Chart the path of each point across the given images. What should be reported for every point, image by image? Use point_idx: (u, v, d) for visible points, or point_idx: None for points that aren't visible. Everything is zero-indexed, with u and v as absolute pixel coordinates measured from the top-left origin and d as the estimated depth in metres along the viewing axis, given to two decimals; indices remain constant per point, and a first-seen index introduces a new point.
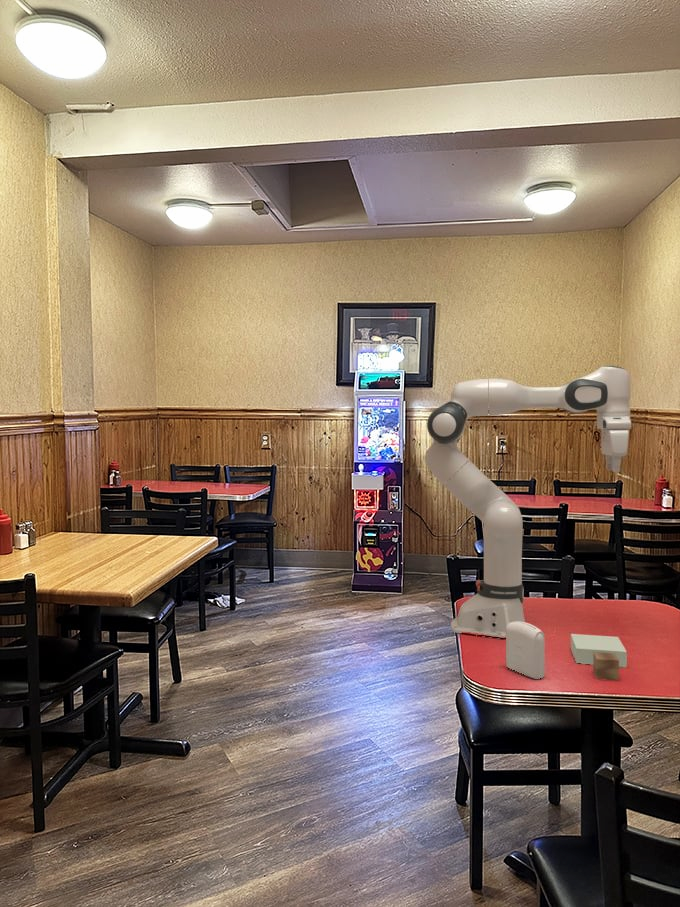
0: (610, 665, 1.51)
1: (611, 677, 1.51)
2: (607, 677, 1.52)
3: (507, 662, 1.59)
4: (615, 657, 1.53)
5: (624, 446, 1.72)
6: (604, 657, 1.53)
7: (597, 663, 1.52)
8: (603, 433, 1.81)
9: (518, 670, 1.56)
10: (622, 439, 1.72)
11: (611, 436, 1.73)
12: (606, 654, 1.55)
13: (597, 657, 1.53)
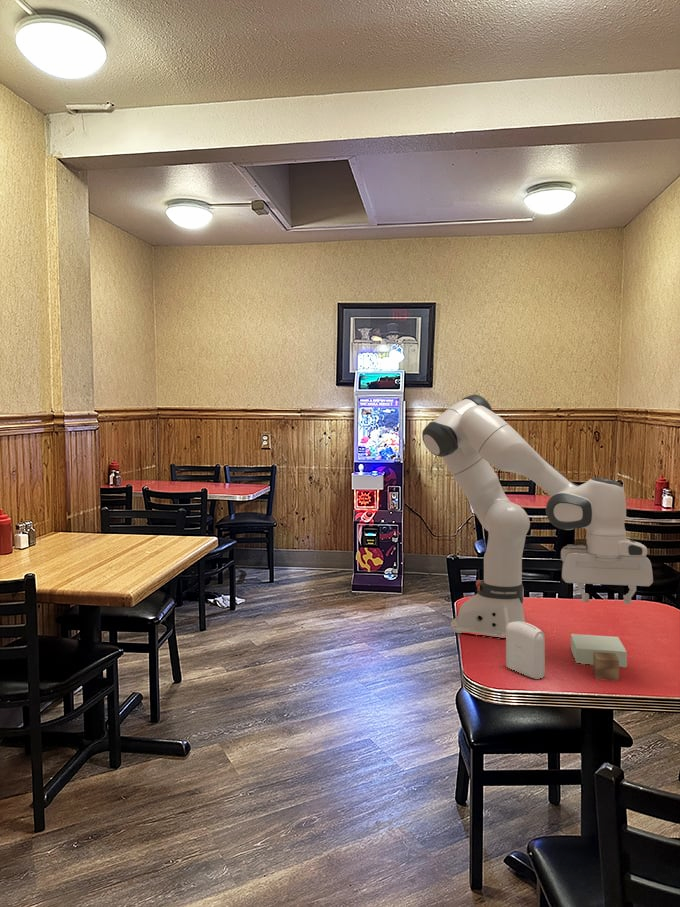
0: (610, 665, 1.51)
1: (611, 677, 1.51)
2: (607, 677, 1.52)
3: (507, 662, 1.59)
4: (615, 657, 1.53)
5: None
6: (604, 657, 1.53)
7: (597, 663, 1.52)
8: (613, 560, 1.50)
9: (518, 670, 1.56)
10: None
11: (650, 564, 1.49)
12: (606, 654, 1.55)
13: (597, 657, 1.53)
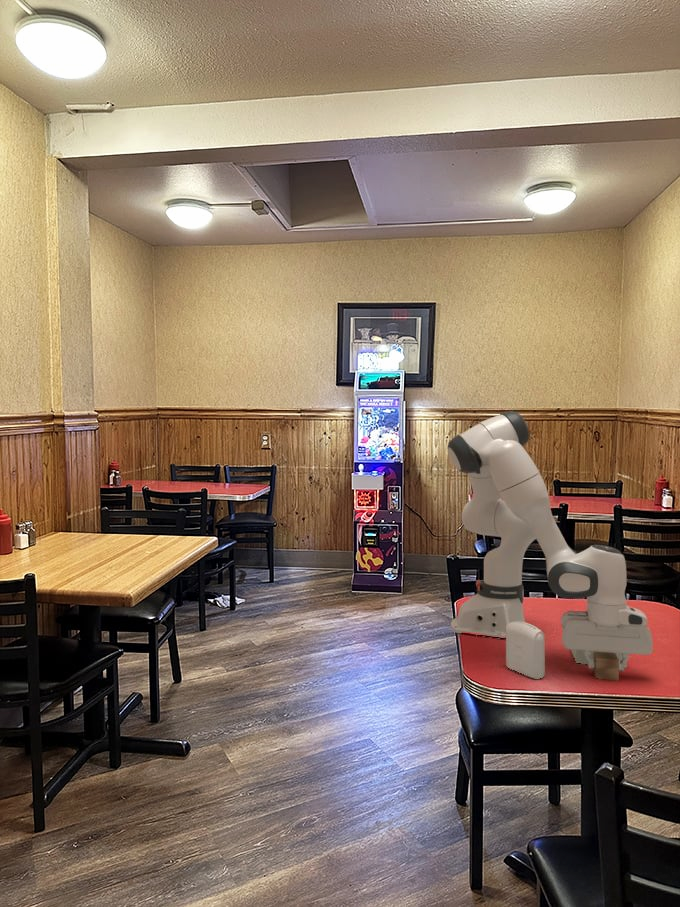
0: (610, 665, 1.51)
1: (611, 677, 1.51)
2: (607, 677, 1.52)
3: (507, 662, 1.59)
4: (615, 657, 1.53)
5: None
6: (604, 657, 1.53)
7: (597, 663, 1.52)
8: (613, 628, 1.51)
9: (518, 670, 1.56)
10: None
11: (650, 633, 1.49)
12: (606, 654, 1.55)
13: (597, 657, 1.53)
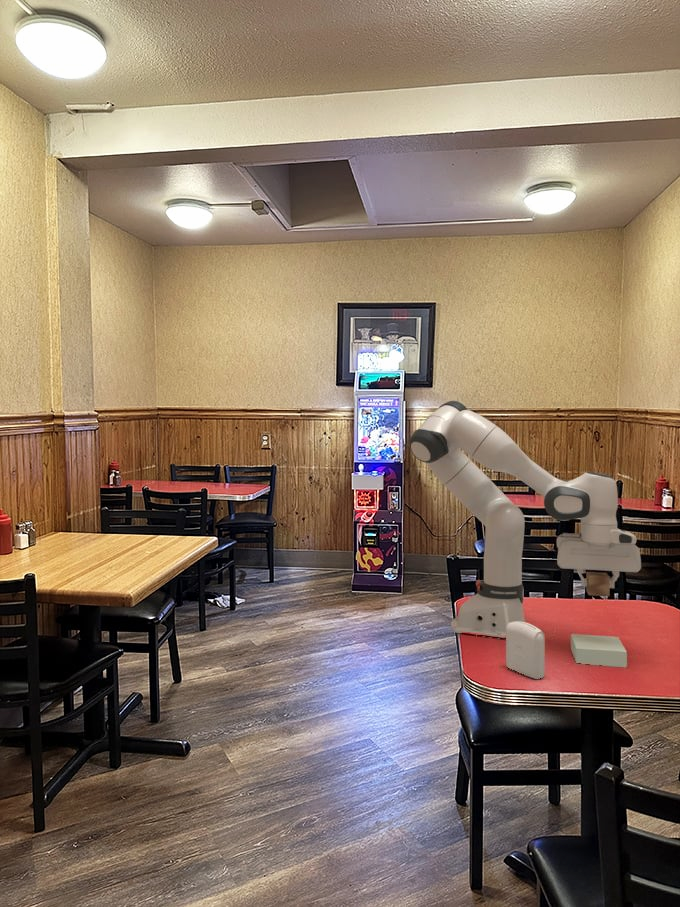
0: (602, 581, 1.63)
1: (602, 592, 1.63)
2: (598, 593, 1.63)
3: (507, 662, 1.59)
4: (606, 575, 1.65)
5: None
6: (596, 575, 1.65)
7: (589, 580, 1.64)
8: (605, 547, 1.62)
9: (518, 670, 1.56)
10: None
11: (639, 551, 1.61)
12: (598, 573, 1.67)
13: (589, 575, 1.65)
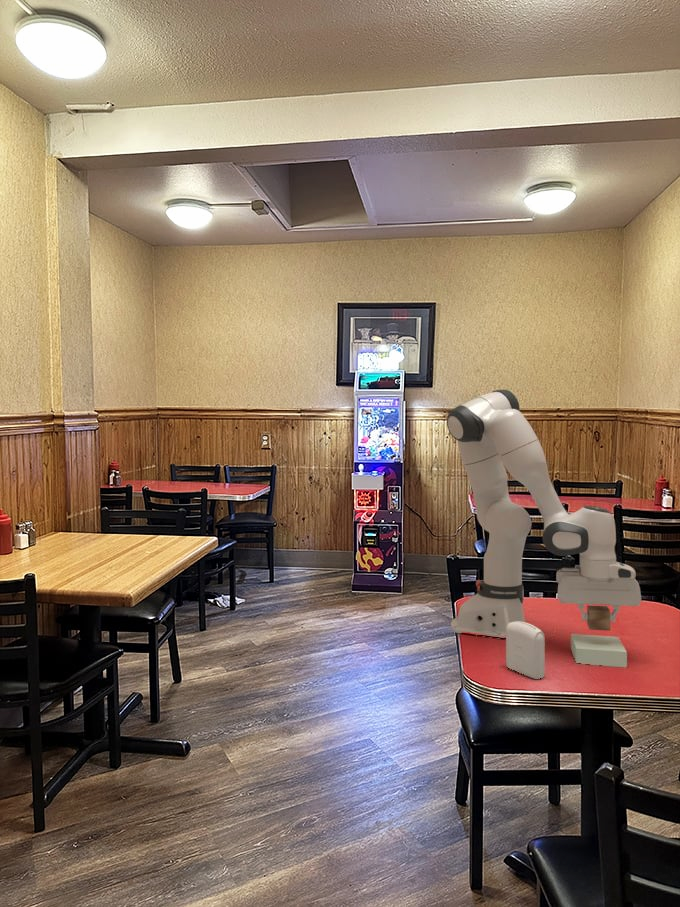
0: (602, 616, 1.64)
1: (603, 627, 1.64)
2: (599, 627, 1.64)
3: (507, 662, 1.59)
4: (607, 609, 1.65)
5: None
6: (596, 609, 1.65)
7: (590, 614, 1.64)
8: (604, 582, 1.63)
9: (518, 670, 1.56)
10: None
11: (638, 586, 1.61)
12: (598, 607, 1.67)
13: (590, 609, 1.65)
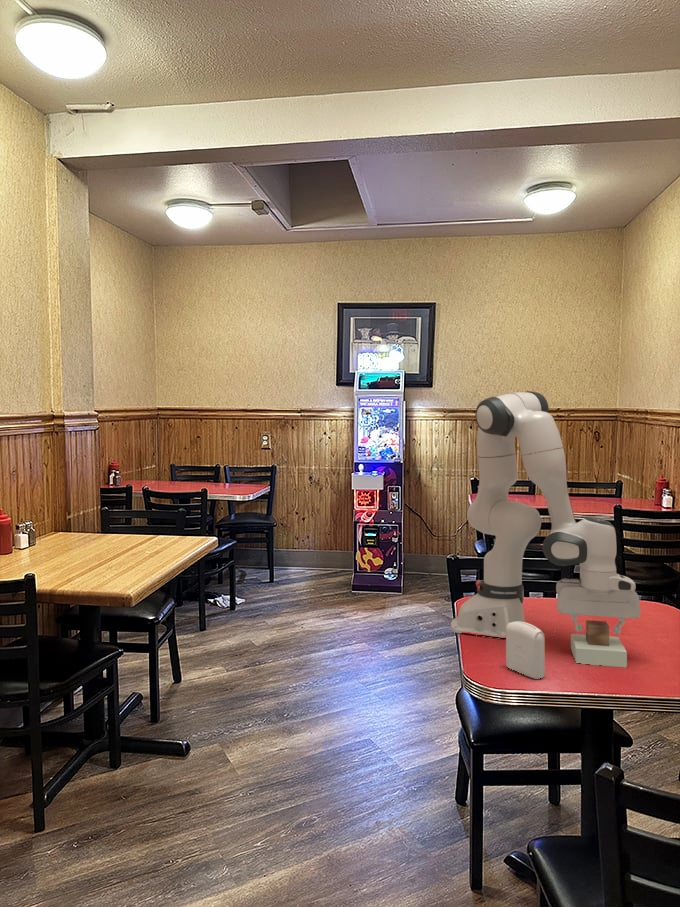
0: (601, 631, 1.64)
1: (602, 642, 1.64)
2: (598, 642, 1.64)
3: (507, 662, 1.59)
4: (606, 624, 1.66)
5: None
6: (595, 624, 1.66)
7: (589, 629, 1.65)
8: (604, 594, 1.63)
9: (518, 670, 1.56)
10: None
11: (638, 598, 1.62)
12: (597, 622, 1.68)
13: (589, 624, 1.66)
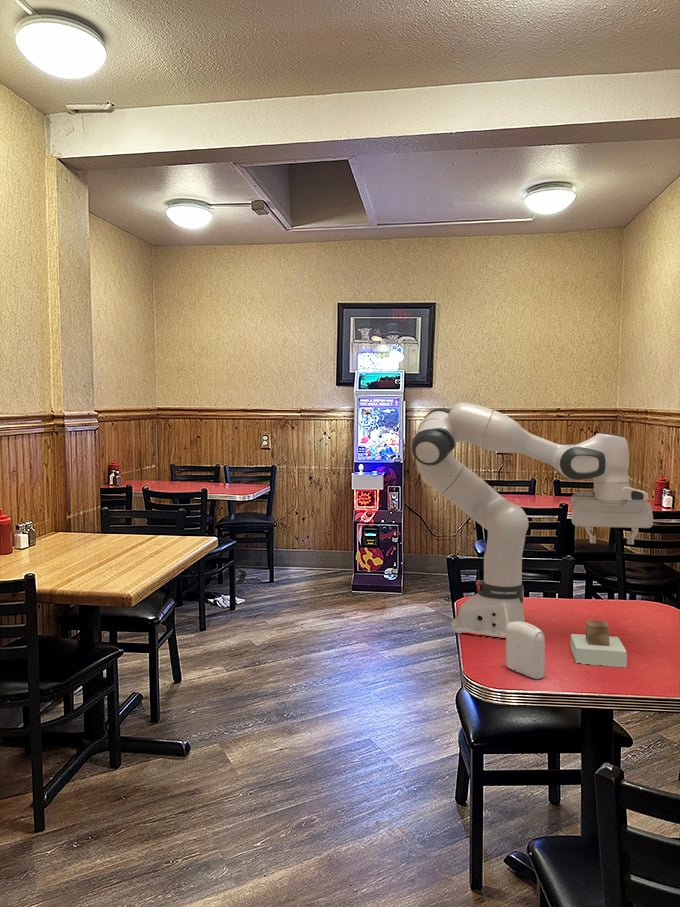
0: (601, 631, 1.64)
1: (602, 642, 1.64)
2: (598, 642, 1.64)
3: (507, 662, 1.59)
4: (606, 624, 1.66)
5: None
6: (595, 624, 1.66)
7: (589, 629, 1.65)
8: (618, 504, 1.68)
9: (518, 670, 1.56)
10: None
11: (651, 508, 1.67)
12: (597, 622, 1.68)
13: (589, 624, 1.66)
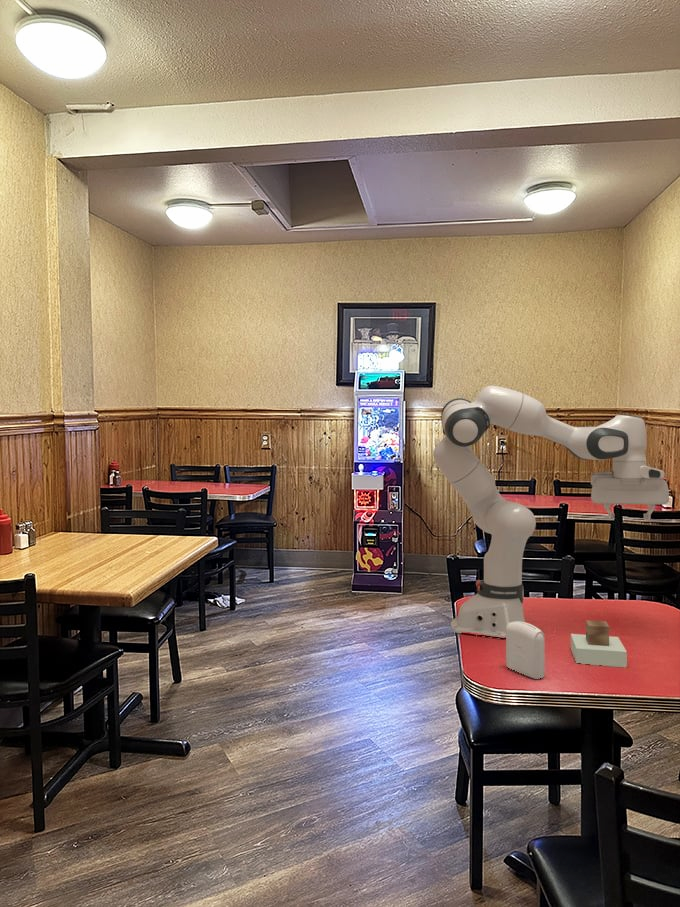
0: (601, 631, 1.64)
1: (602, 642, 1.64)
2: (598, 642, 1.64)
3: (507, 662, 1.59)
4: (606, 624, 1.66)
5: None
6: (595, 624, 1.66)
7: (589, 629, 1.65)
8: (636, 482, 1.78)
9: (518, 670, 1.56)
10: None
11: (667, 485, 1.77)
12: (597, 622, 1.68)
13: (589, 624, 1.66)
